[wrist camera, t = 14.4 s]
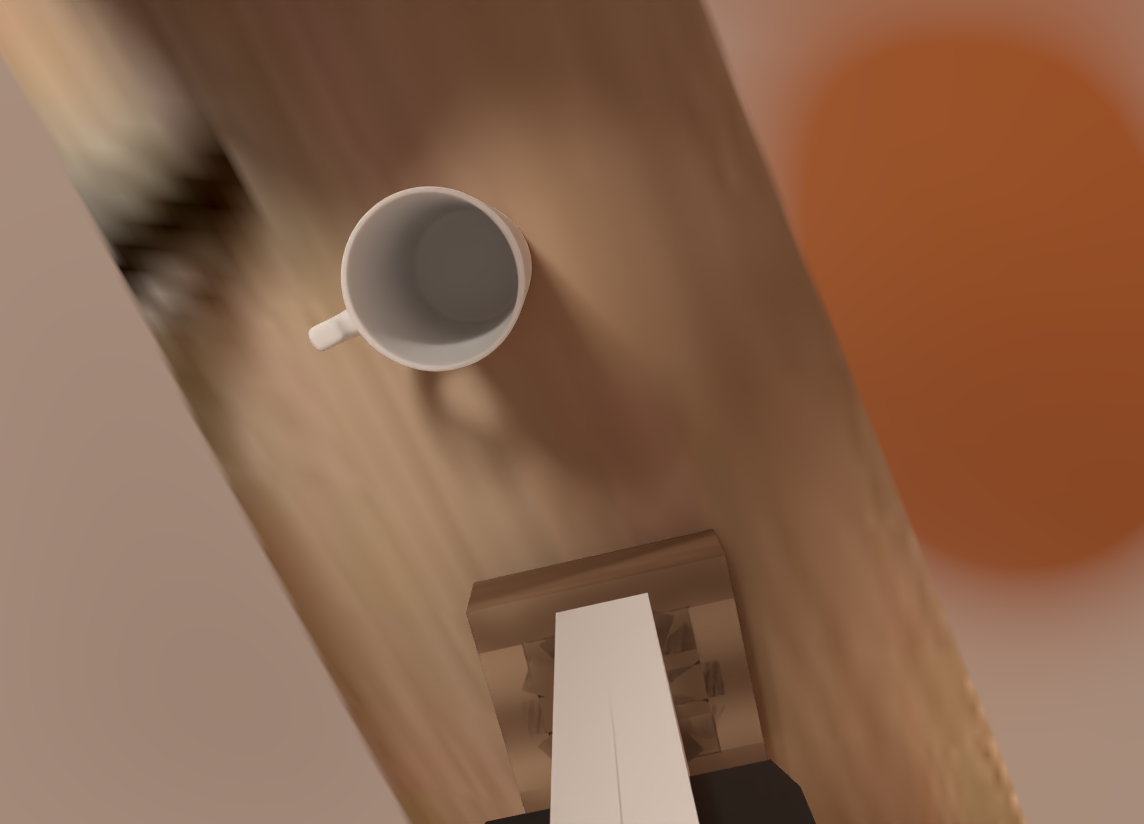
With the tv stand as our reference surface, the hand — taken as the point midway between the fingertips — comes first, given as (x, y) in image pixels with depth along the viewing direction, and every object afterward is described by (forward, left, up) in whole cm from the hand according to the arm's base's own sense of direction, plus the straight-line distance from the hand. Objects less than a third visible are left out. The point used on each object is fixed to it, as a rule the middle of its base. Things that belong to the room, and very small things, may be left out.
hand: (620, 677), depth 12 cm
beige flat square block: (+18, -2, -29) cm, 35 cm away
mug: (-6, -6, -30) cm, 31 cm away
